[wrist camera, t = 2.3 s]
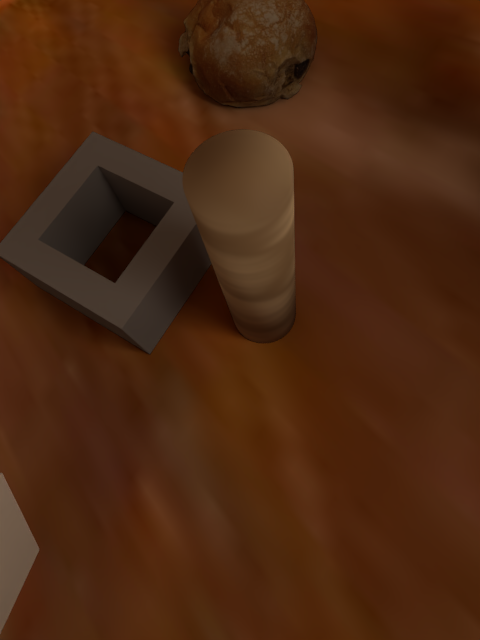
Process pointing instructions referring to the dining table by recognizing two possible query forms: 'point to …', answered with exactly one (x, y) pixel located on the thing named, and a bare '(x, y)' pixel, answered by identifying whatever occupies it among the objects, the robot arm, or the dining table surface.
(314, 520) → the dining table surface
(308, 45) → the bread roll
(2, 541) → the robot arm
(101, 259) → the dining table surface
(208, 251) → the dowel
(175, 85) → the dining table surface
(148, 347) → the socket
